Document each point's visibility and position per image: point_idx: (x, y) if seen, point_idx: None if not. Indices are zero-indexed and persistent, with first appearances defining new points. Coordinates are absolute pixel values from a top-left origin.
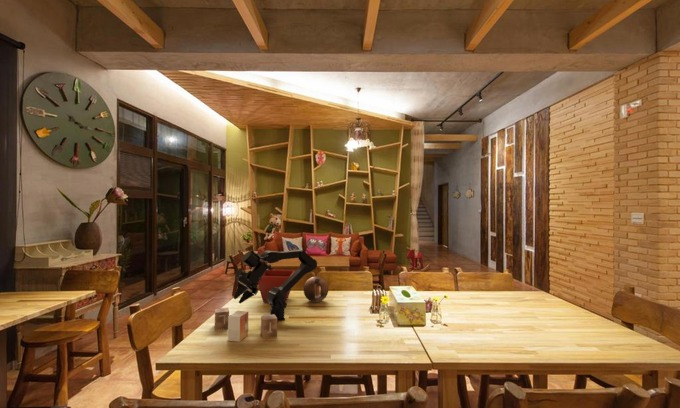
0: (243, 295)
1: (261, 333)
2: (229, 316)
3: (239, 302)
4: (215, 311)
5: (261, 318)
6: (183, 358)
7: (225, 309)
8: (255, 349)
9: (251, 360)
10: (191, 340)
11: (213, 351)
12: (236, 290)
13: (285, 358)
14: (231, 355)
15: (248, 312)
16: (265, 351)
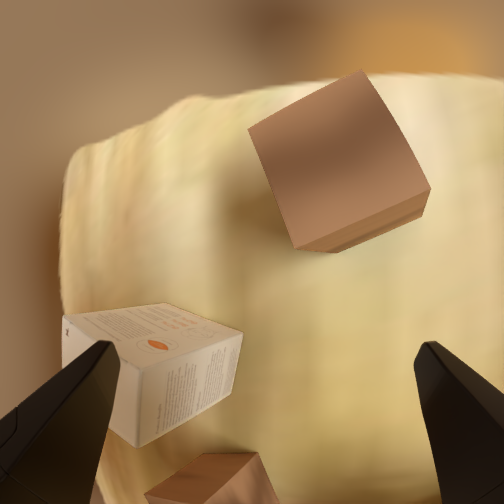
0: (485, 443)
1: (237, 456)
2: (63, 323)
3: (420, 355)
4: (282, 110)
5: (200, 496)
6: (73, 198)
7: (358, 181)
8: None
9: None
10: (172, 131)
11: (98, 272)
12: (12, 412)
13: (102, 470)
14: None
15: (139, 447)
16: (117, 439)
